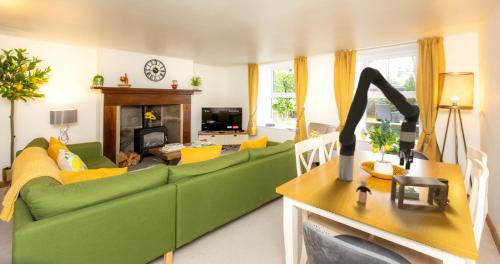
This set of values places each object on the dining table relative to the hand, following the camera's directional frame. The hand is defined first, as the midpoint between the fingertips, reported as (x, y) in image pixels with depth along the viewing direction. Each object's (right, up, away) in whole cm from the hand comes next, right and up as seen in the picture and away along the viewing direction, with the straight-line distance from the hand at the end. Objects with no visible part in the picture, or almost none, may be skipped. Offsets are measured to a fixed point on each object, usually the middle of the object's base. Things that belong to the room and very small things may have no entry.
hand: (404, 167), depth 140 cm
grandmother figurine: (-28, -18, -10) cm, 35 cm away
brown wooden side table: (-2, -18, -13) cm, 22 cm away
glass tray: (0, -16, 0) cm, 16 cm away
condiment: (+15, -17, -7) cm, 24 cm away
